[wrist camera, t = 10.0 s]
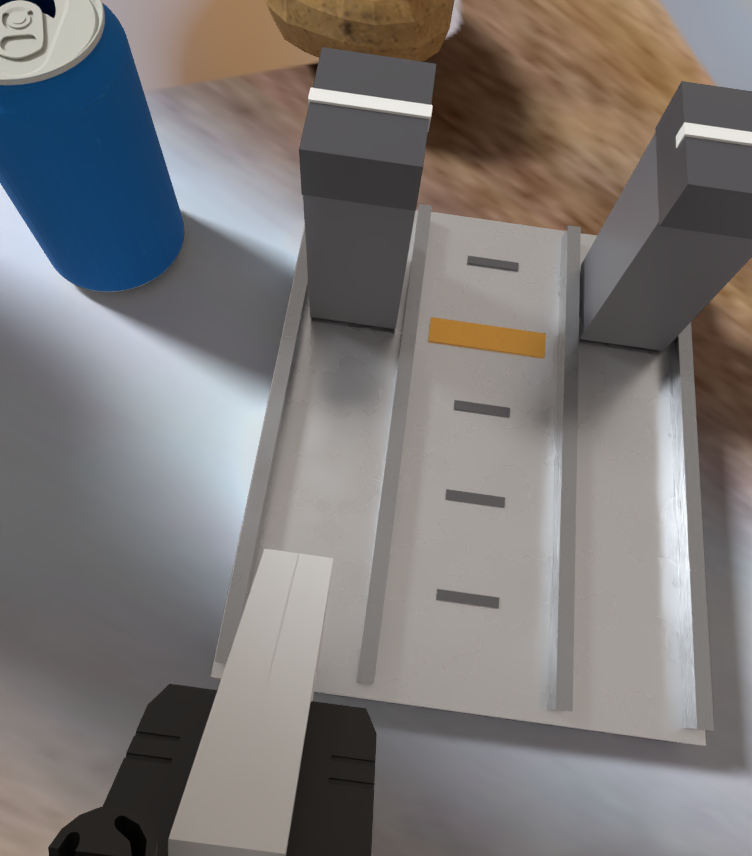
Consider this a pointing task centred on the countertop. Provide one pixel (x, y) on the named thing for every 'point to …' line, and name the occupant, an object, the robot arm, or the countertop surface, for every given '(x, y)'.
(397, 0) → the potato
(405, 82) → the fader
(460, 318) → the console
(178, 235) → the beverage can
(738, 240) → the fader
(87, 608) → the countertop surface
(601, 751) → the countertop surface
